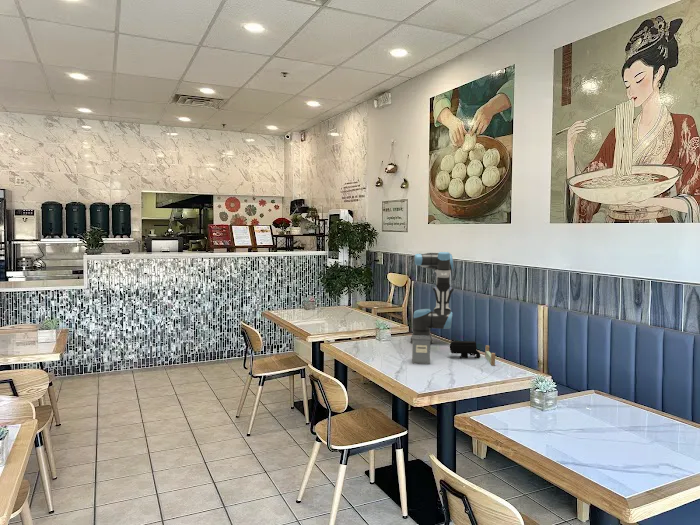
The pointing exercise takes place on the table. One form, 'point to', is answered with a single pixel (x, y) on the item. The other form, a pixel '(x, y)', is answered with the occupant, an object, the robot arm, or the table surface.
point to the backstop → (490, 356)
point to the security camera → (464, 348)
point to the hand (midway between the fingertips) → (442, 314)
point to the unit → (421, 349)
